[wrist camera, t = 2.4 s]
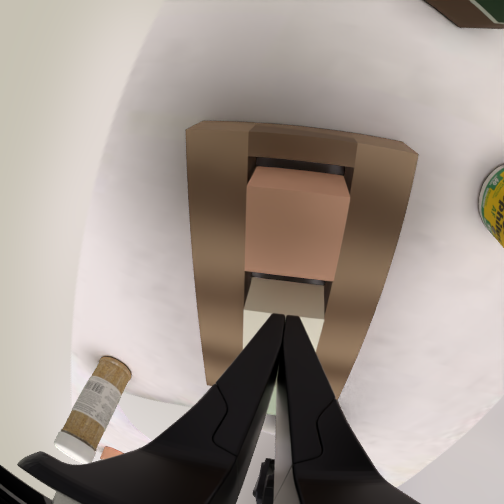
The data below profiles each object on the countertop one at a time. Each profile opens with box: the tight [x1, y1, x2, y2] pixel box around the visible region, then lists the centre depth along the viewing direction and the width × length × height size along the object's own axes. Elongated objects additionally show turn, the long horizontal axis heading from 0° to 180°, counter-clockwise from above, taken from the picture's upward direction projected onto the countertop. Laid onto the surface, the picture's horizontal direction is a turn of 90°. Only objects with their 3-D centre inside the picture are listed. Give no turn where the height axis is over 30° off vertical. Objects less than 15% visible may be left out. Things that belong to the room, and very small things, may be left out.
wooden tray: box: [186, 121, 418, 400], centre depth 22 cm, size 22×12×3 cm, turn 178°
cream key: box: [243, 277, 324, 352], centre depth 19 cm, size 4×4×3 cm
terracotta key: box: [244, 166, 350, 281], centre depth 15 cm, size 4×4×3 cm
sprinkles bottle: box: [54, 357, 131, 464], centre depth 29 cm, size 5×5×13 cm
